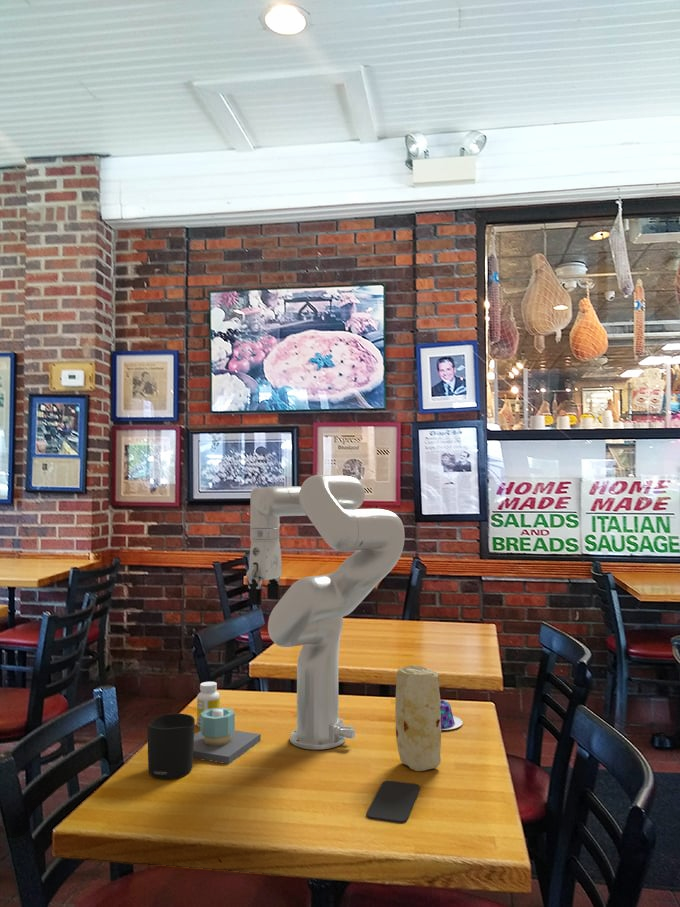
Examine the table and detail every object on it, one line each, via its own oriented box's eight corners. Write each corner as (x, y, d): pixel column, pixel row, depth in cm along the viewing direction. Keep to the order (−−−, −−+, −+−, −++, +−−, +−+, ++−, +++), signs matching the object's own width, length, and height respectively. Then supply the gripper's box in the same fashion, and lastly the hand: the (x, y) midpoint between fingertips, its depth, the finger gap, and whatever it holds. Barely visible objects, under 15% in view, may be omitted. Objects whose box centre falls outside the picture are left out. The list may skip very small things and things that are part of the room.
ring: (239, 728, 150) (239, 710, 151) (222, 738, 144) (223, 719, 144) (212, 724, 153) (212, 706, 153) (195, 734, 146) (195, 716, 147)
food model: (445, 764, 139) (444, 666, 140) (436, 776, 133) (435, 674, 134) (400, 756, 143) (400, 661, 144) (389, 768, 137) (389, 668, 138)
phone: (364, 816, 116) (383, 779, 130) (364, 820, 116) (383, 784, 130) (406, 821, 114) (421, 784, 128) (406, 826, 114) (421, 788, 128)
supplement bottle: (222, 721, 165) (222, 680, 166) (215, 728, 160) (216, 687, 161) (200, 720, 166) (201, 680, 167) (193, 728, 161) (194, 686, 161)
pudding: (421, 734, 157) (421, 711, 157) (407, 717, 169) (407, 696, 169) (470, 731, 159) (469, 708, 159) (453, 714, 171) (452, 693, 171)
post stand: (260, 740, 152) (260, 704, 153) (228, 764, 139) (229, 724, 140) (207, 733, 157) (207, 698, 158) (172, 754, 144) (172, 716, 145)
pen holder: (138, 770, 136) (139, 720, 137) (181, 758, 142) (181, 710, 143) (158, 785, 129) (159, 732, 130) (202, 772, 135) (203, 721, 136)
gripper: (262, 537, 164) (261, 608, 163) (292, 533, 180) (292, 597, 179) (235, 536, 167) (234, 606, 166) (267, 532, 183) (267, 596, 182)
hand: (264, 601), depth 173 cm, fingers open, 9 cm apart
